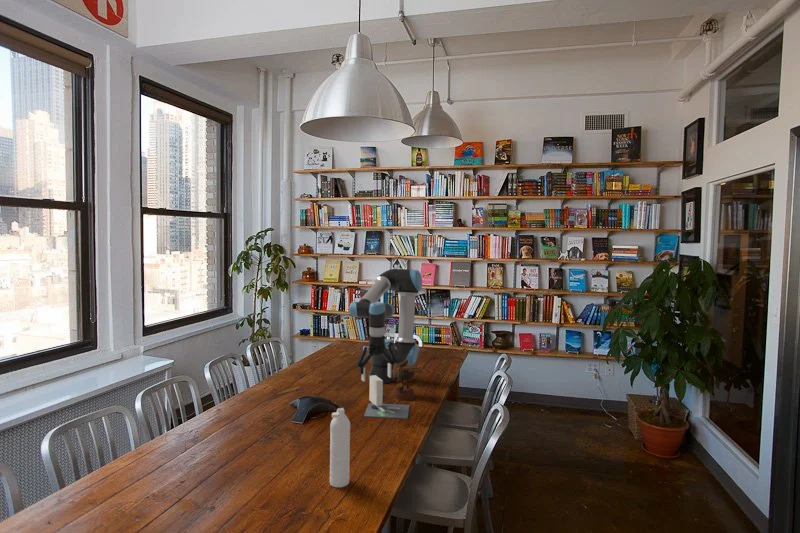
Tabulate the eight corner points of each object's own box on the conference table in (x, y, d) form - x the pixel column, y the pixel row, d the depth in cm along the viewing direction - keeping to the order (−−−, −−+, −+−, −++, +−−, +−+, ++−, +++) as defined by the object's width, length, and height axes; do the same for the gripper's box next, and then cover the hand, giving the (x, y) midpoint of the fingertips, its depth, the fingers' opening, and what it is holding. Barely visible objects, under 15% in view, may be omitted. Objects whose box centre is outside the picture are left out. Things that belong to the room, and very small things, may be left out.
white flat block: (376, 402, 219) (376, 374, 218) (388, 413, 206) (389, 383, 205) (367, 404, 217) (368, 375, 216) (379, 414, 204) (380, 384, 203)
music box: (408, 403, 222) (405, 363, 221) (388, 400, 227) (386, 361, 227) (421, 394, 235) (419, 356, 235) (402, 392, 240) (400, 355, 240)
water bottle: (334, 476, 152) (335, 404, 150) (352, 479, 150) (353, 406, 149) (323, 489, 143) (324, 413, 142) (342, 493, 142) (343, 416, 140)
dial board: (368, 404, 219) (368, 403, 219) (409, 405, 218) (409, 404, 218) (363, 416, 203) (364, 415, 203) (407, 418, 202) (407, 417, 202)
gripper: (397, 331, 221) (396, 373, 223) (349, 335, 210) (349, 379, 212) (403, 334, 214) (403, 377, 216) (355, 339, 203) (354, 384, 205)
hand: (376, 378), depth 214 cm, fingers open, 13 cm apart
